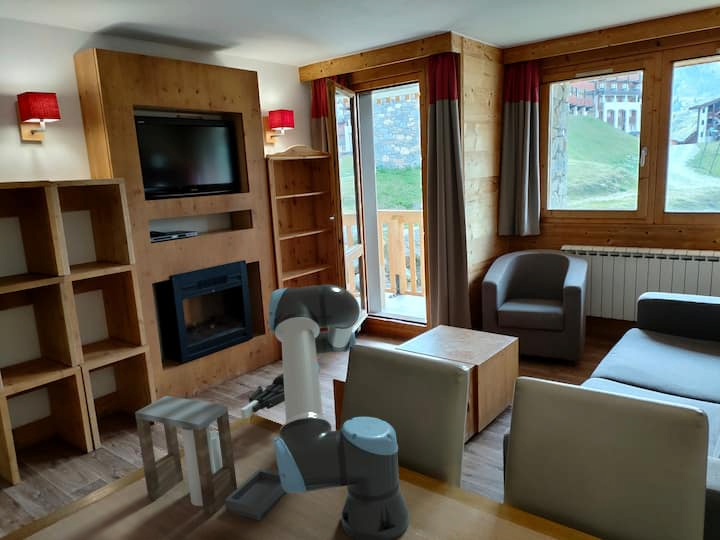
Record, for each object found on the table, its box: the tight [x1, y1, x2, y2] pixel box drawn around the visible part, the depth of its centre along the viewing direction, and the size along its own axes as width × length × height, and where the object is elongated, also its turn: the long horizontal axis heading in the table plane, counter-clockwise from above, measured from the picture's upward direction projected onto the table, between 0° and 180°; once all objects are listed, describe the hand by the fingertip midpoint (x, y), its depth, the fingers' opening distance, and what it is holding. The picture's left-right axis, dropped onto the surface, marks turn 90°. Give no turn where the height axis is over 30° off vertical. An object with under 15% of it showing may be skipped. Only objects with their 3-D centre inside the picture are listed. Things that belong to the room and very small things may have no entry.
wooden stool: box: [134, 395, 238, 518], centre depth 130 cm, size 20×10×24 cm, turn 65°
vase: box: [180, 424, 223, 507], centre depth 132 cm, size 11×7×20 cm, turn 176°
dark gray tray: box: [224, 468, 288, 521], centre depth 129 cm, size 10×14×3 cm
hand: (243, 413), depth 151 cm, fingers closed
